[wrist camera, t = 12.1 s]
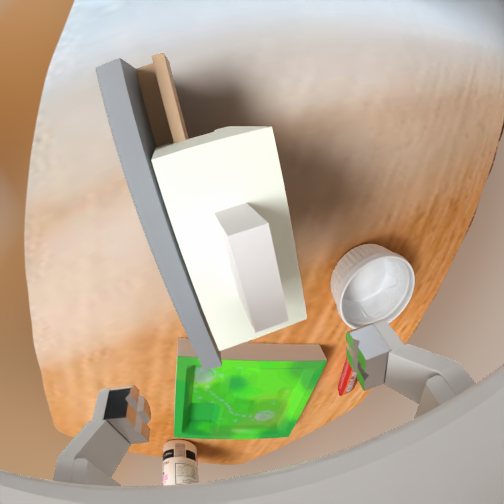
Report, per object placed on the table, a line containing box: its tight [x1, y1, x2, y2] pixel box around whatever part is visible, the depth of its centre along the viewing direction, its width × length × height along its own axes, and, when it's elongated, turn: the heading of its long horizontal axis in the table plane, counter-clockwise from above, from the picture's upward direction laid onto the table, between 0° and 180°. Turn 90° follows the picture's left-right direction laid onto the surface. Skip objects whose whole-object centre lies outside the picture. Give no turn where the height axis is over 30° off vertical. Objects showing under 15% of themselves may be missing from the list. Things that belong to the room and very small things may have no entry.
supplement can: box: [163, 439, 199, 485], centre depth 56 cm, size 8×8×15 cm
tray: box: [174, 337, 327, 439], centre depth 54 cm, size 25×25×5 cm
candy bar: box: [338, 357, 358, 396], centre depth 57 cm, size 16×4×3 cm, turn 179°
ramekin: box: [330, 244, 415, 329], centre depth 45 cm, size 13×13×7 cm
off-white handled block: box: [151, 126, 307, 351], centre depth 23 cm, size 14×7×16 cm, turn 13°
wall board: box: [96, 53, 222, 370], centre depth 31 cm, size 30×9×16 cm, turn 13°
